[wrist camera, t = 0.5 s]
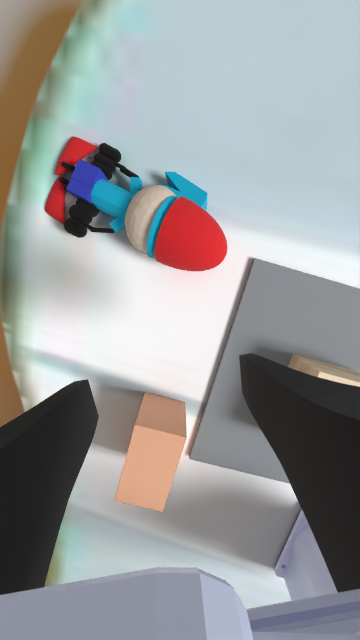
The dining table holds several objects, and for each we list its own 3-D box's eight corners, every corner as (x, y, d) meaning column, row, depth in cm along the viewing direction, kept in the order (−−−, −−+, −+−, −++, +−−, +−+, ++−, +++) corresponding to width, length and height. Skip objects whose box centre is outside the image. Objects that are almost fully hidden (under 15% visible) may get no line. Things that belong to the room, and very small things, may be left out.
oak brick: (321, 444, 22) (351, 480, 18) (263, 430, 22) (281, 463, 18) (354, 370, 21) (395, 392, 17) (292, 353, 20) (319, 371, 17)
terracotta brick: (166, 462, 23) (162, 512, 18) (128, 453, 23) (114, 500, 18) (185, 401, 22) (186, 437, 17) (145, 391, 22) (134, 424, 17)
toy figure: (55, 227, 21) (202, 302, 19) (8, 200, 16) (201, 298, 14) (91, 148, 20) (245, 220, 19) (54, 94, 15) (259, 187, 14)
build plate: (336, 491, 24) (339, 495, 23) (189, 455, 23) (189, 458, 22) (424, 308, 20) (429, 309, 20) (253, 258, 19) (255, 258, 19)
